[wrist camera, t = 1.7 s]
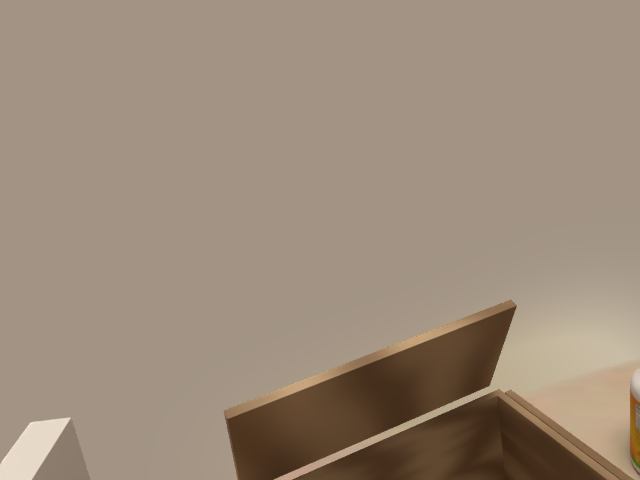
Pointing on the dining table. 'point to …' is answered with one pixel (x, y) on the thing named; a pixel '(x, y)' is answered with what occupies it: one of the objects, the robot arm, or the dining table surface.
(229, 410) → the flap
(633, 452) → the supplement bottle
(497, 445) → the wooden open box
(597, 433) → the dining table surface
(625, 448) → the dining table surface
